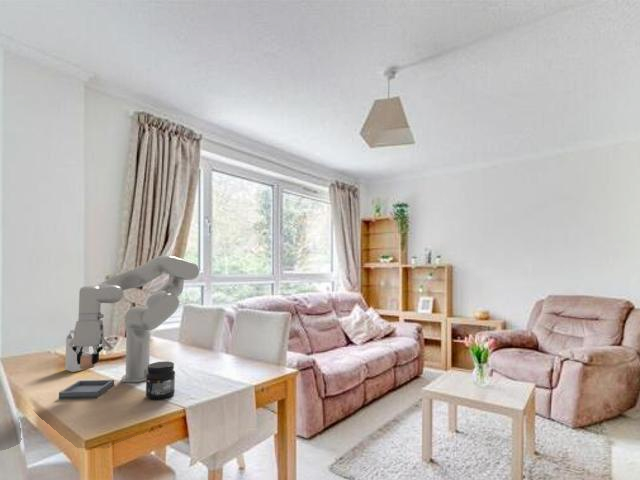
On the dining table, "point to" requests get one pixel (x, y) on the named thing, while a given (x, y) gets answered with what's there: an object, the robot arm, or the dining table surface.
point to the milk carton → (72, 355)
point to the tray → (86, 389)
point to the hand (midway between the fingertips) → (87, 362)
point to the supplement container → (160, 380)
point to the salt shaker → (86, 360)
